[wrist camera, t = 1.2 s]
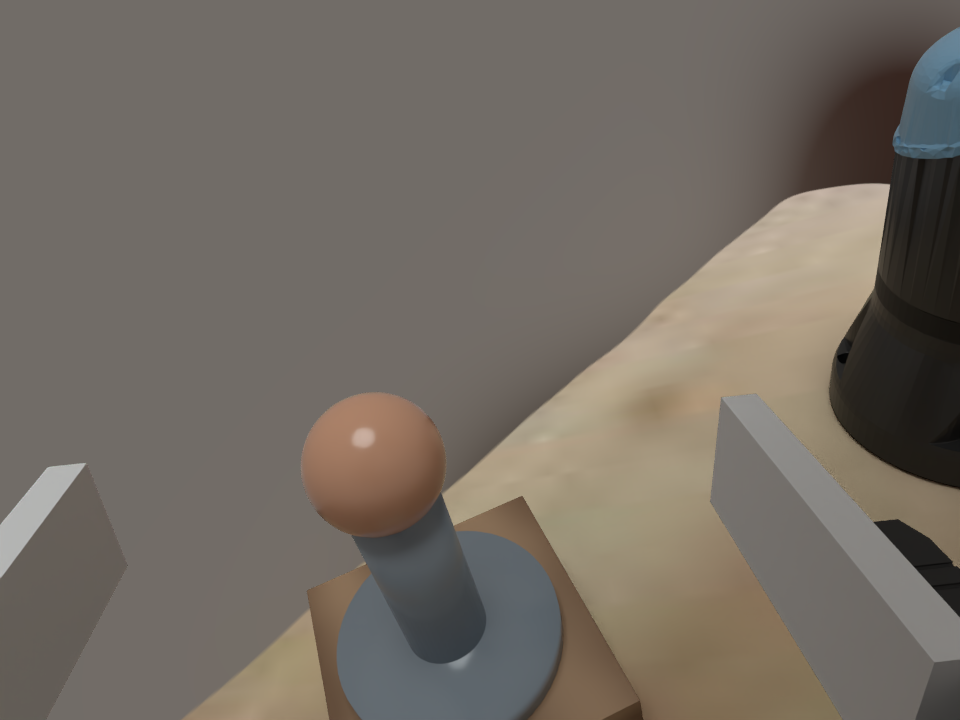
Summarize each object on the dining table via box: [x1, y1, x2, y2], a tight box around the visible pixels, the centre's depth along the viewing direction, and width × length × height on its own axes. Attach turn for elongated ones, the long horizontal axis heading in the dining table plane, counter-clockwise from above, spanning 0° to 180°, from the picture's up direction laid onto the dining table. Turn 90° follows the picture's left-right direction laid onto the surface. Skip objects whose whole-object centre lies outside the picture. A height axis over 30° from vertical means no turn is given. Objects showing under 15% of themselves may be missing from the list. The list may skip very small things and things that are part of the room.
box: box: [307, 496, 644, 720], centre depth 33 cm, size 12×12×7 cm
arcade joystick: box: [301, 392, 563, 720], centre depth 26 cm, size 10×10×14 cm
